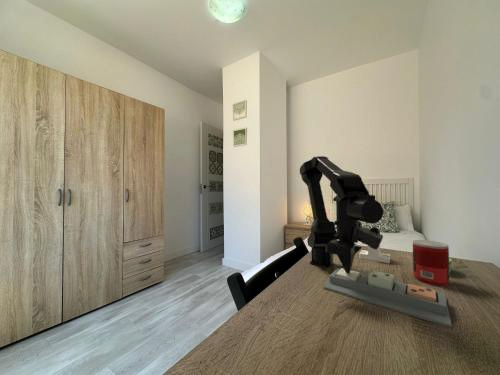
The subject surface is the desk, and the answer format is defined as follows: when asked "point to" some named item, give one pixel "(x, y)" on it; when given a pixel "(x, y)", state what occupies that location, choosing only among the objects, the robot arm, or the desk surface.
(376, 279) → the tile
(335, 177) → the robot arm
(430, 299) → the tile
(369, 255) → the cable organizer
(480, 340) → the desk surface
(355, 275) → the tile
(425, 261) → the canned food
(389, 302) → the board
